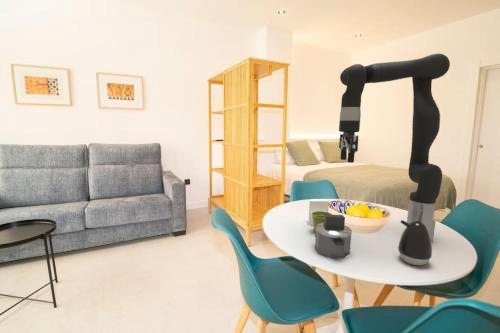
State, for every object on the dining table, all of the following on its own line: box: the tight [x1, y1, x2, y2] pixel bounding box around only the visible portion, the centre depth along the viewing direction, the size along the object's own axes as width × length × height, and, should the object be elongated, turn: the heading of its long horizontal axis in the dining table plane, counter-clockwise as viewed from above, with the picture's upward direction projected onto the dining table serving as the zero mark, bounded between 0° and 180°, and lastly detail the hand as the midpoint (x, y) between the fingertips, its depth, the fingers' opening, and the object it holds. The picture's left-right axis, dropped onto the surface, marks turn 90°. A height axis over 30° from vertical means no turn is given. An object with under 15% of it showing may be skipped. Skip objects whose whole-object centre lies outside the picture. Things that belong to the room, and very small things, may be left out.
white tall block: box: [308, 198, 330, 227], centre depth 129 cm, size 9×9×12 cm
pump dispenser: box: [397, 219, 433, 266], centre depth 93 cm, size 10×10×15 cm
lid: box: [316, 214, 352, 238], centre depth 100 cm, size 13×13×6 cm
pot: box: [314, 231, 352, 259], centre depth 101 cm, size 12×17×8 cm
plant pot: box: [312, 211, 334, 234], centre depth 118 cm, size 9×9×9 cm
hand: (346, 161), depth 104 cm, fingers open, 8 cm apart
